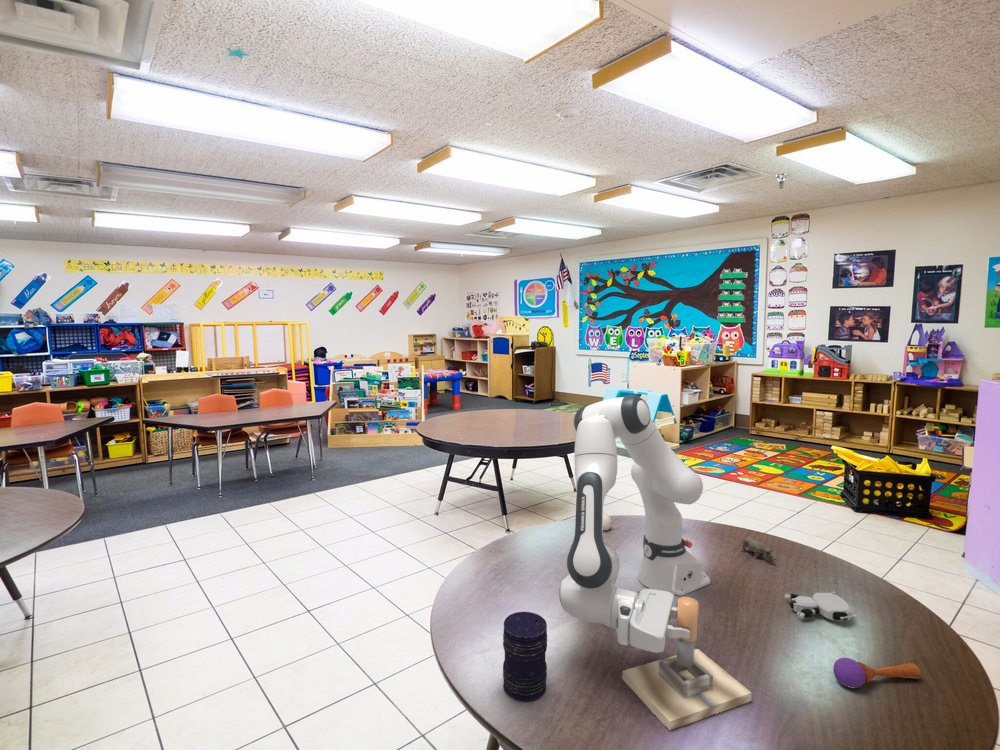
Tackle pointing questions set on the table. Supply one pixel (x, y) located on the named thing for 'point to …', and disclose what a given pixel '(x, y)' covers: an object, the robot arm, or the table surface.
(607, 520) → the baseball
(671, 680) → the plywood panel
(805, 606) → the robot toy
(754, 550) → the rhino figurine
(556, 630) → the table surface
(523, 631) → the dark blue cylinder
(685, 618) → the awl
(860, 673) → the purple maraca
